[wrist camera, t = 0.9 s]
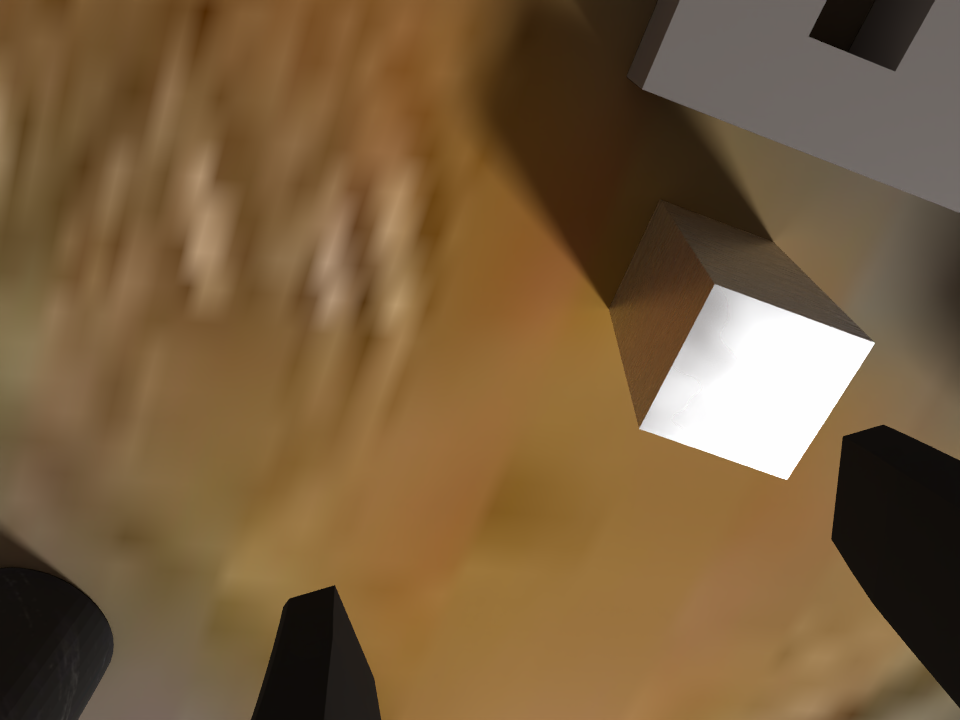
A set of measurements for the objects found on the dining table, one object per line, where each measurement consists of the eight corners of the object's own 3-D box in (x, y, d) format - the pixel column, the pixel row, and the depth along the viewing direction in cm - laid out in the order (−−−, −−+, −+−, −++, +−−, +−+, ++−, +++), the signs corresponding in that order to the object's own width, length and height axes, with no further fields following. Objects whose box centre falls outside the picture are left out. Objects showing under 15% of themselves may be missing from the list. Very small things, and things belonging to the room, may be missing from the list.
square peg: (773, 241, 25) (875, 342, 17) (716, 347, 26) (786, 479, 19) (659, 199, 24) (714, 284, 17) (608, 309, 26) (639, 428, 19)
